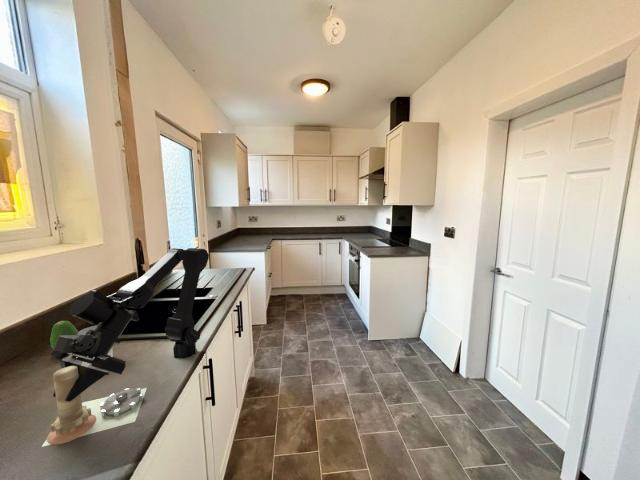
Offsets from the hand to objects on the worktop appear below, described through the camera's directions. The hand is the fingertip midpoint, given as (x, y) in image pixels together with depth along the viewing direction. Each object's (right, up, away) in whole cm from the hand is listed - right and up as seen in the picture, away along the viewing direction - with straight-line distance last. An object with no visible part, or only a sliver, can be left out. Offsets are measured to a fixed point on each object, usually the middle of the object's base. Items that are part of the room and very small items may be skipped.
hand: (61, 399), depth 58 cm
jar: (-18, -6, +30) cm, 36 cm away
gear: (+7, -7, +10) cm, 14 cm away
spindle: (0, -7, +2) cm, 7 cm away
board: (+3, -9, +7) cm, 12 cm away
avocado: (-35, -6, +37) cm, 51 cm away
